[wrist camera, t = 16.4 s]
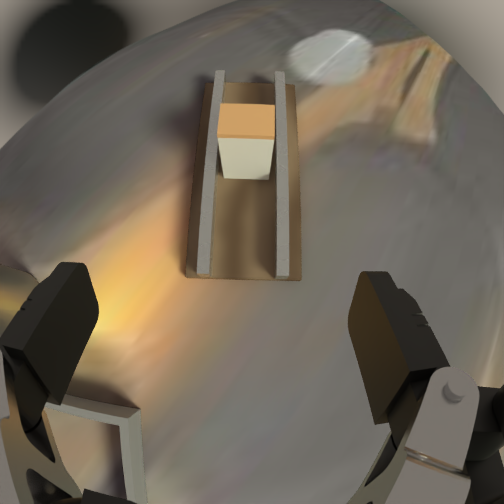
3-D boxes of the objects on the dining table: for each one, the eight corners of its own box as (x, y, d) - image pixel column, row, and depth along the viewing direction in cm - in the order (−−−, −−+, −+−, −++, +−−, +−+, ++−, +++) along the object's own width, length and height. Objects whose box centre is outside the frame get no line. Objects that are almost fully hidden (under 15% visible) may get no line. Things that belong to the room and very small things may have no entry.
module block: (224, 178, 35) (216, 134, 26) (226, 151, 36) (220, 103, 27) (268, 180, 35) (274, 136, 26) (269, 152, 36) (274, 105, 27)
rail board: (187, 277, 34) (180, 272, 30) (206, 87, 39) (203, 70, 36) (299, 280, 34) (305, 276, 30) (293, 89, 39) (296, 72, 36)
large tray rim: (30, 497, 26) (16, 506, 22) (10, 377, 30) (-9, 380, 26) (152, 538, 26) (145, 554, 22) (140, 409, 30) (127, 418, 26)
